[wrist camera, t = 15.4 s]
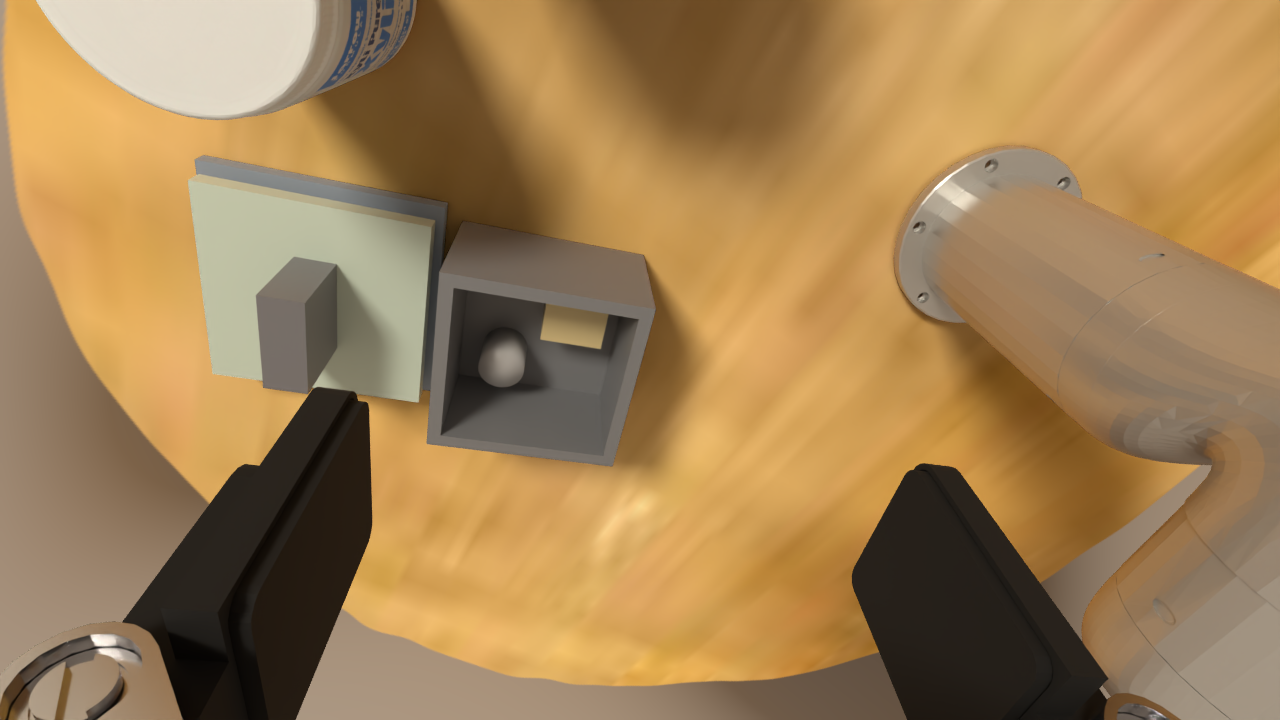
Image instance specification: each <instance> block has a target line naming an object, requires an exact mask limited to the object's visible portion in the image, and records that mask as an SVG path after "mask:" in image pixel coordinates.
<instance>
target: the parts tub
mask: <svg viewBox="0 0 1280 720" xmlns="http://www.w3.org/2000/svg"><path fill="white" fill-rule="evenodd" d="M655 311H656V307H655V303H654V299H653V294H652V290H651V285H650V281H649V277H648V272H647V268H646V263H645V259H644V255H641V254H635V253H630V252H625V251H620V250H614V249H609V248H604V247H599V246H593V245H588V244H583V243H578V242H572V241H567V240H562V239H556V238H551V237H546V236H541V235H535V234H530V233H525V232H520V231H514V230H509V229H504V228H498V227H493V226H488V225H483V224H477V223H472V222H467V221H463V222H462V224H461V226H460V228H459V230H458V232H457V235H456V237H455V239H454V241H453V243H452V246H451V248H450V250H449V252H448V254H447V256H446V259H445V261H444V263H443V265H442V267H441V270H440V272H439V284H438V297H437V311H436V324H435V337H434V351H433V364H432V378H431V391H430V404H429V418H428V431H427V444H431V445H440V446H448V447H456V448H464V449H472V450H481V451H489V452H497V453H505V454H514V455H522V456H530V457H538V458H546V459H555V460H563V461H571V462H579V463H588V464H596V465H604V466H613V463H614V459H615V456H616V452H617V448H618V445H619V441H620V438H621V434H622V430H623V427H624V423H625V419H626V416H627V412H628V409H629V405H630V401H631V398H632V394H633V391H634V387H635V383H636V380H637V376H638V373H639V369H640V365H641V362H642V358H643V354H644V351H645V347H646V344H647V340H648V336H649V333H650V329H651V326H652V322H653V318H654V315H655Z"/></svg>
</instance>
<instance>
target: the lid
mask: <svg viewBox="0 0 1280 720" xmlns="http://www.w3.org/2000/svg"><path fill="white" fill-rule="evenodd" d="M188 186H189V194H190V201H191V209H192V217H193V225H194V232H195V240H196V248H197V255H198V263H199V271H200V279H201V286H202V294H203V302H204V310H205V317H206V325H207V333H208V341H209V348H210V356H211V364H212V372H213V374H218V375H225V376H232V377H239V378H246V379H253V380H260V381H263V388H268V389H276V390H283V391H290V392H297V393H305V394H308V393H309V392H310V390H311V389H312V388H316V387H324V388H332V389H340V390H348V391H354V392H355V393H356V394H360V395H368V396H375V397H382V398H389V399H396V400H403V401H410V402H418V403H419V400H420V397H421V395H422V388H423V375H424V362H425V349H426V336H427V323H428V310H429V298H430V285H431V272H432V259H433V246H434V233H435V220H431V219H426V218H421V217H416V216H411V215H406V214H401V213H396V212H390V211H385V210H380V209H375V208H370V207H365V206H360V205H355V204H350V203H345V202H339V201H334V200H329V199H324V198H319V197H314V196H309V195H304V194H299V193H294V192H288V191H283V190H278V189H273V188H268V187H263V186H258V185H253V184H248V183H243V182H237V181H232V180H227V179H222V178H217V177H212V176H207V175H202V174H198V175H196V176H194V177H192V178H191V179H189V180H188Z"/></svg>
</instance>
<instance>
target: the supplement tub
mask: <svg viewBox="0 0 1280 720" xmlns="http://www.w3.org/2000/svg"><path fill="white" fill-rule="evenodd" d="M36 1H37V3H38V4H39V6H40V8H41V9H42V11H43V12H44V14H45V15H46V17H47V18H48V20H49V21H50V22H51V24H52V25H53V26H54V27H55V29H56V30H57V31H58V32H59V34H60V35H61V36H62V37H63V38H64V40H65V41H66V42H67V43H68V44H69V45H70V46H71V47H72V48H73V49H74V50H75V51H76V52H77V53H78V54H79V55H80V56H81V57H82V58H83V59H84V60H85V61H86V62H87V63H88V64H89V65H90V66H92V67H93V68H94V69H95V70H96V71H97V72H99V73H100V74H101V75H103V76H104V77H105V78H107V79H108V80H109V81H111V82H112V83H114V84H115V85H117V86H118V87H120V88H121V89H123V90H125V91H126V92H128V93H129V94H131V95H133V96H134V97H136V98H138V99H140V100H142V101H144V102H146V103H149V104H151V105H153V106H155V107H158V108H161V109H164V110H166V111H169V112H172V113H175V114H179V115H183V116H187V117H192V118H198V119H208V120H229V119H238V118H243V117H251V116H258V115H264V114H269V113H273V112H276V111H279V110H282V109H285V108H287V107H290V106H292V105H295V104H298V103H300V102H302V101H305V100H307V99H309V98H312V97H314V96H316V95H319V94H321V93H324V92H326V91H328V90H331V89H333V88H335V87H338V86H340V85H342V84H345V83H347V82H349V81H352V80H354V79H356V78H359V77H361V76H363V75H366V74H368V73H370V72H372V71H374V70H376V69H378V68H380V67H382V66H383V65H385V64H386V63H387V62H389V61H390V60H391V59H392V58H393V57H394V56H395V55H396V54H397V53H398V52H399V50H400V49H401V47H402V46H403V45H404V43H405V41H406V39H407V37H408V35H409V33H410V31H411V28H412V25H413V21H414V17H415V12H416V3H417V0H36Z"/></svg>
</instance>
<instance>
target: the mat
mask: <svg viewBox="0 0 1280 720" xmlns="http://www.w3.org/2000/svg"><path fill="white" fill-rule="evenodd" d="M195 166H196V174H197V175H198V174H202V175H207V176H212V177H217V178H222V179H227V180H232V181H237V182H243V183H248V184H253V185H258V186H263V187H268V188H273V189H278V190H283V191H288V192H294V193H299V194H304V195H309V196H314V197H319V198H324V199H329V200H334V201H339V202H345V203H350V204H355V205H360V206H365V207H370V208H375V209H380V210H385V211H390V212H396V213H401V214H406V215H411V216H416V217H421V218H426V219H431V220H435V233H434V246H433V259H432V272H431V285H430V298H429V310H428V323H427V336H426V349H425V362H424V375H423V388H422V390H428V391H431V378H432V364H433V351H434V337H435V324H436V311H437V297H438V284H439V272H440V270H441V267H442V265H443V261H444V248H445V235H446V222H447V209H448V203H447V202H442V201H437V200H432V199H426V198H421V197H416V196H411V195H406V194H401V193H396V192H390V191H385V190H380V189H375V188H370V187H365V186H360V185H354V184H349V183H344V182H339V181H334V180H329V179H324V178H318V177H313V176H308V175H303V174H298V173H293V172H288V171H282V170H277V169H272V168H267V167H262V166H257V165H252V164H246V163H241V162H236V161H231V160H226V159H221V158H215V157H210V156H205V155H203V156H201V157H199V158H197V159H195Z"/></svg>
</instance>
